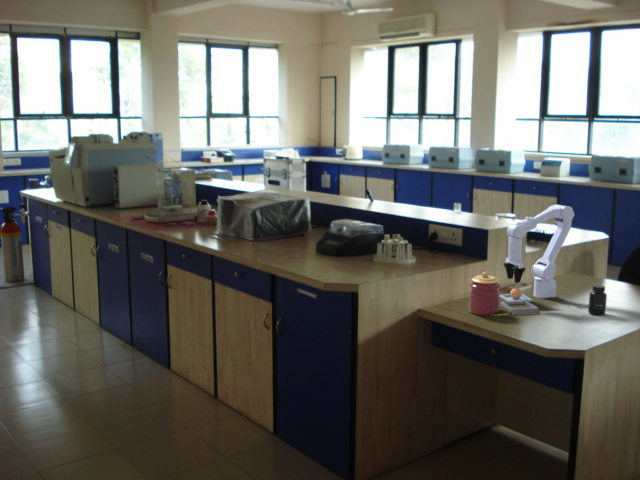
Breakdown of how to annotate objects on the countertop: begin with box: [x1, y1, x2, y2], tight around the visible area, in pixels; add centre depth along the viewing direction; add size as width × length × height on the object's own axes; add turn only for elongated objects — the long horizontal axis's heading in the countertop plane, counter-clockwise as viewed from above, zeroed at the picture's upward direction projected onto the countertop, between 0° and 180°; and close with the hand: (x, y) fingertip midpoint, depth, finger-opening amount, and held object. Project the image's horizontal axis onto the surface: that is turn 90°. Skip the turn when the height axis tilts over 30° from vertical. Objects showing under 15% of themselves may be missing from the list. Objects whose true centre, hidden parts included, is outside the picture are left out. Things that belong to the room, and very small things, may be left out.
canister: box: [468, 271, 501, 316], centre depth 289 cm, size 13×13×18 cm
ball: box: [509, 287, 523, 299], centre depth 307 cm, size 5×5×5 cm
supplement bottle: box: [587, 284, 608, 316], centre depth 286 cm, size 7×7×12 cm
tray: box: [499, 301, 540, 315], centre depth 293 cm, size 12×12×2 cm
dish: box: [500, 293, 534, 303], centre depth 307 cm, size 11×11×2 cm
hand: (513, 280), depth 306 cm, fingers open, 7 cm apart
